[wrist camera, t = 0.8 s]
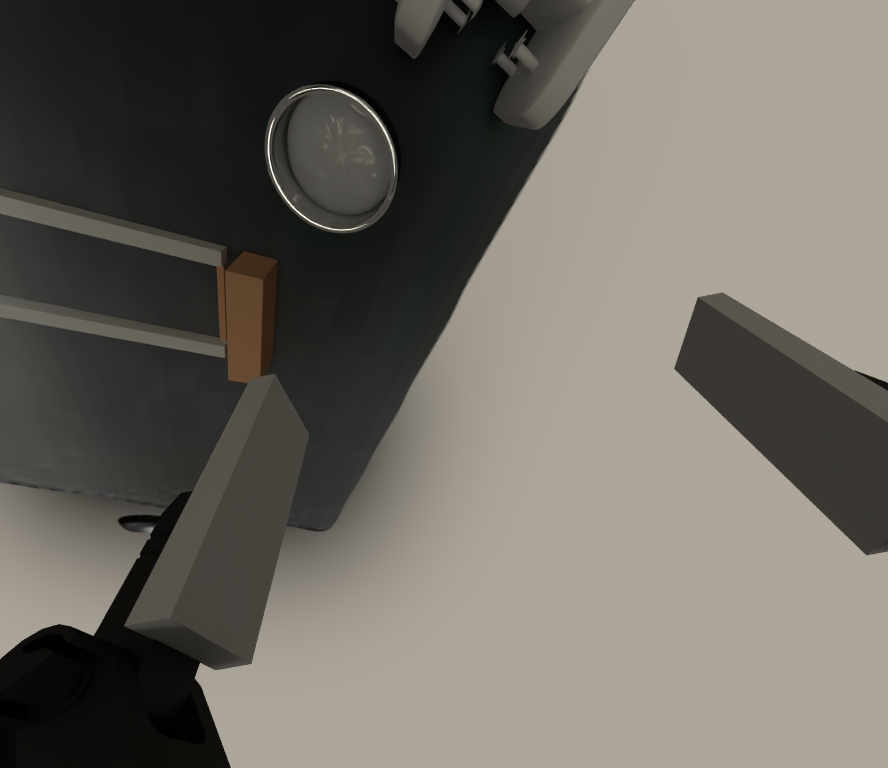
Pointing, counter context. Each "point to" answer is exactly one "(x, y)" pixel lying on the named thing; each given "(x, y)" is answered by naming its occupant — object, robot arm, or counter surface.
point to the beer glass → (333, 156)
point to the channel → (239, 286)
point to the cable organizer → (527, 48)
